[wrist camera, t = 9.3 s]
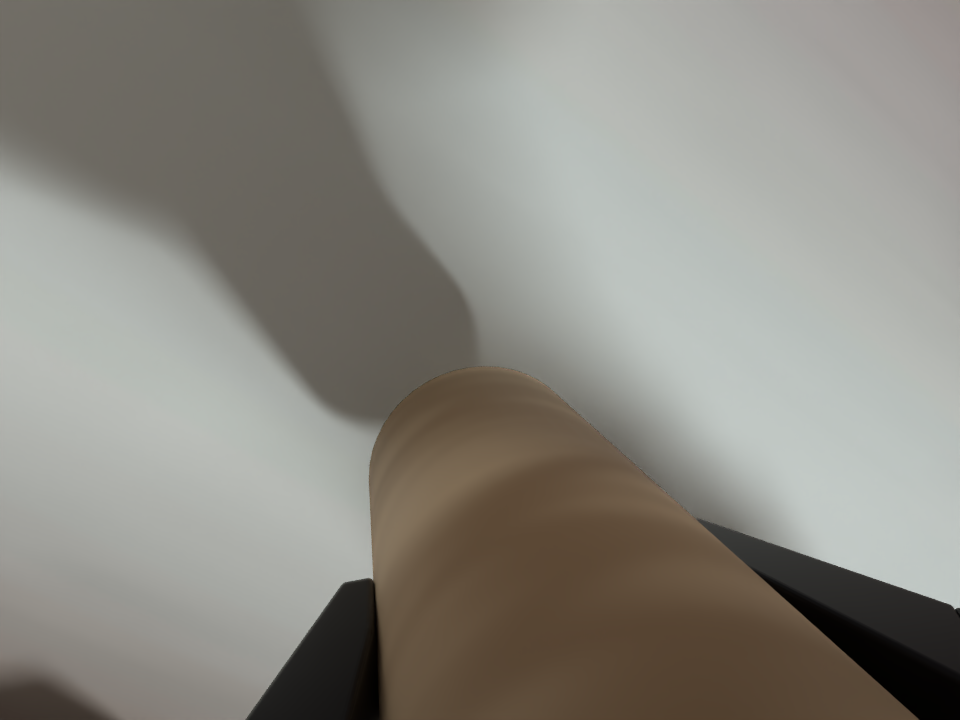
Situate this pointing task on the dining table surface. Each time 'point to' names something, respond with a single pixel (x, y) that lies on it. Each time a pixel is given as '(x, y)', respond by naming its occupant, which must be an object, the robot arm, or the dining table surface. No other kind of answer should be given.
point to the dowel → (570, 580)
